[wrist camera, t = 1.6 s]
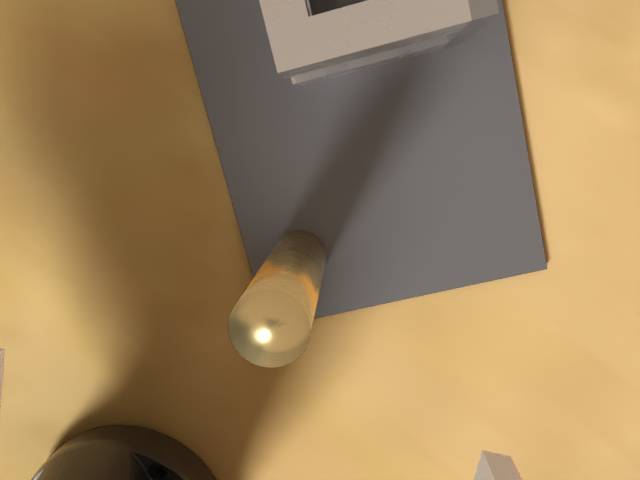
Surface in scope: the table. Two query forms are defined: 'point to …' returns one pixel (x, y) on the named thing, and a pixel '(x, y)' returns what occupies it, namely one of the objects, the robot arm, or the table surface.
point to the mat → (372, 158)
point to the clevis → (365, 33)
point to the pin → (280, 302)
